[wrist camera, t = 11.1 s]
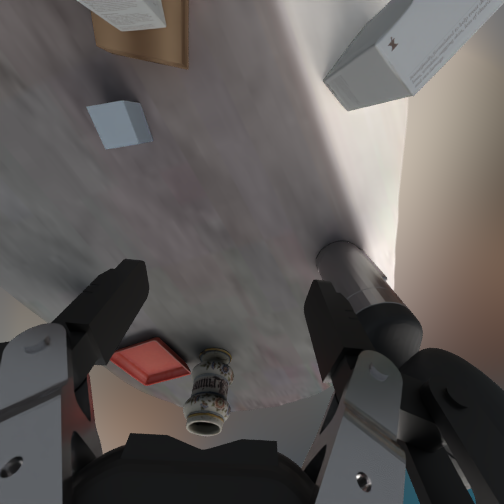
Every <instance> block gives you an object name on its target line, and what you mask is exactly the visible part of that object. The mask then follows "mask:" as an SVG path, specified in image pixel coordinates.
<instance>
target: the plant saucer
mask: <svg viewBox="0 0 504 504" xmlns="http://www.w3.org/2000/svg"><path fill="white" fill-rule="evenodd" d="M110 361H111V362H113V363H114V364H116V365H117V366H118V367H120V368H121V369H123V370H124V371H125V372H127V373H128V374H129V375H131V376H132V377H133V378H135V379H136V380H138V381H139V382H140V383H142V384H143V385H145V386H148V385H152V384H156V383H160V382H164V381H167V380H171V379H175V378H179V377H182V376H186V375H190V374H191V371H190V369H189V367H188V366H187V364H186V363H185V361H184V360H183V359H181V358H180V357H179V356H178V355H177V354H176V353H175V352H174V351H173V350H172V349H171V348H170V347H169V346H167V345H166V344H165V343H164V342H163V341H162V340H161V339H160V338H159V337H155V338H152V339H149V340H146V341H143V342H140V343H137V344H134V345H131V346H128V347H124V348H121V349H119V350H116V351H115V352H114V354H113V355H112V357H111V359H110Z"/></svg>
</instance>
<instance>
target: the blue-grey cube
mask: <svg viewBox="0 0 504 504" xmlns="http://www.w3.org/2000/svg"><path fill="white" fill-rule="evenodd" d="M86 108H87V110H88V112H89V114H90V116H91V118H92V121H93V123H94V125H95V127H96V129H97V132H98V134H99V136H100V138H101V140H102V142H103V145H104V147H105V149H111V148H118V147H124V146H130V145H136V144H142V143H147V142H152V141H153V139H152V136H151V133H150V130H149V127H148V124H147V121H146V118H145V115H144V113H143V110H142V107H141V104H140V103H136V102H130V101H124V100H122V101H116V102H111V103H105V104H100V105H94V106H88V107H86Z"/></svg>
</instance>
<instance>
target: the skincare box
mask: <svg viewBox="0 0 504 504" xmlns="http://www.w3.org/2000/svg"><path fill="white" fill-rule="evenodd" d="M503 3H504V0H391V1H390V2H389V3H388V4H387V5H386V6H385V7H384V8H383V9H382V10H381V11H380V12H379V13H378V14H376V15H375V16H374V17H373V18H372V19H371V20H370V21H369V22H368V23H367V24H366V25H365V26H364V28H363V29H362V30H361V31H360V33H359V34H358V35H357V36H356V38H355V39H354V40H353V42H352V43H351V44H350V46H349V47H348V48H347V49H346V51H345V52H344V53H343V55H342V56H341V57H340V59H339V60H338V61H337V63H336V64H335V66H334V67H333V69H332V70H331V71H330V73H329V74H328V75H327V76H326V77H325V79H324V80H323V82H324V83H325V84H326V86H327V87H328V88H329V89H330V91H331V92H332V93H333V94H334V95H335V97H336V98H337V99H338V101H339V102H340V103H341V104H342V105H343V107H344V108H345V109H346V110H347V111H351V110H355V109H359V108H364V107H368V106H372V105H376V104H380V103H384V102H388V101H392V100H397V99H401V98H405V97H409V96H414V95H415V94H416V93H417V92H418V91H419V90H420V89H421V88H422V87H423V86H424V85H425V84H426V83H427V82H428V81H429V80H430V79H431V78H432V77H433V76H434V75H435V74H436V73H437V72H438V71H439V70H440V69H441V68H442V67H443V66H444V65H445V63H446V62H448V60H450V59H451V57H452V56H453V55H454V54H455V53H456V52H457V51H458V50H459V49H460V48H461V47H462V46H463V45H464V44H465V43H466V42H467V41H468V40H469V39H470V38H471V37H472V36H473V35H474V34H475V33H476V32H477V31H478V30H479V28H480V27H481V26H482V25H483V24H484V23H485V22H486V21H487V20H488V19H489V18H490V17H491V16H492V15H493V14H494V13H495V12H496V11H497V9H499V8H500V6H501V5H502V4H503Z"/></svg>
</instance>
